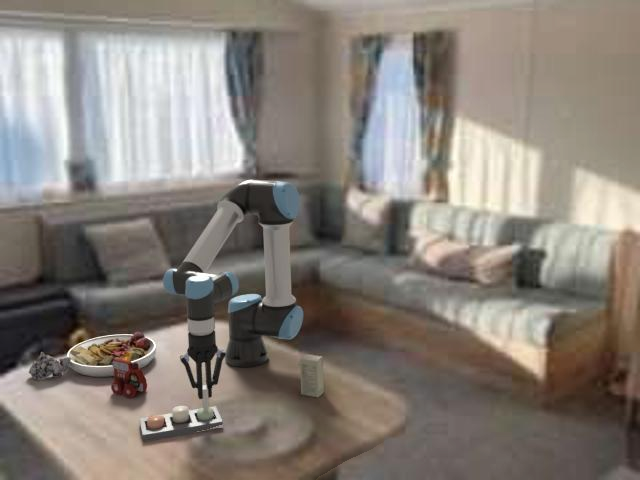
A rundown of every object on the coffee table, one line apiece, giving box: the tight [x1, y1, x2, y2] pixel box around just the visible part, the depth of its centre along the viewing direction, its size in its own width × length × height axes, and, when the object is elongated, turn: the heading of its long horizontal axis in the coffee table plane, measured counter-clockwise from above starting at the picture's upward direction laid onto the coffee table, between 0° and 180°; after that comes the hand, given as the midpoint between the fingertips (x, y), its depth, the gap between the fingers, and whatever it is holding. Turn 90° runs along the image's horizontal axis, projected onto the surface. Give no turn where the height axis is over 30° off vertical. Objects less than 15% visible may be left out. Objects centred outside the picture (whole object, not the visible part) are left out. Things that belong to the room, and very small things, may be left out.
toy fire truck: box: [110, 359, 148, 399], centre depth 211 cm, size 7×12×10 cm, turn 64°
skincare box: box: [299, 353, 325, 398], centre depth 209 cm, size 6×4×12 cm
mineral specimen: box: [28, 351, 71, 382], centre depth 222 cm, size 12×9×10 cm
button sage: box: [196, 406, 214, 422], centre depth 192 cm, size 5×5×3 cm
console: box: [139, 405, 224, 442], centre depth 190 cm, size 22×10×2 cm, turn 110°
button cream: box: [171, 405, 190, 423], centre depth 189 cm, size 5×5×3 cm
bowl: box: [66, 331, 157, 378], centre depth 234 cm, size 30×30×8 cm
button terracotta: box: [146, 414, 165, 430], centre depth 187 cm, size 5×5×3 cm
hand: (205, 407), depth 191 cm, fingers closed
